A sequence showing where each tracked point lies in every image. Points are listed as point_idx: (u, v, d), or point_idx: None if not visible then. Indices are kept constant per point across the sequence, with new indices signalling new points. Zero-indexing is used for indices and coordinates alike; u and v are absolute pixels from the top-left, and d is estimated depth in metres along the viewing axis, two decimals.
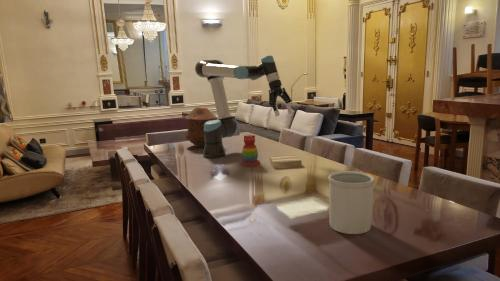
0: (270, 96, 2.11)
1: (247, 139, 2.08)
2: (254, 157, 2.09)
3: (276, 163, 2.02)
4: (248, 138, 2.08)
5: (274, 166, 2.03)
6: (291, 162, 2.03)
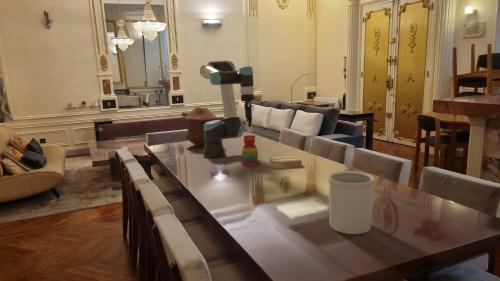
0: (248, 110, 2.00)
1: (247, 139, 2.08)
2: (254, 157, 2.09)
3: (276, 163, 2.02)
4: (248, 138, 2.08)
5: (274, 166, 2.03)
6: (291, 162, 2.03)
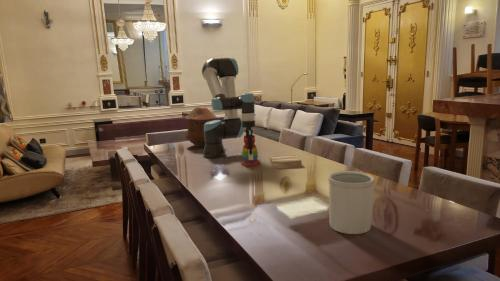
0: (250, 139, 2.04)
1: (247, 139, 2.08)
2: (254, 157, 2.09)
3: (276, 163, 2.02)
4: None
5: (274, 166, 2.03)
6: (291, 162, 2.03)
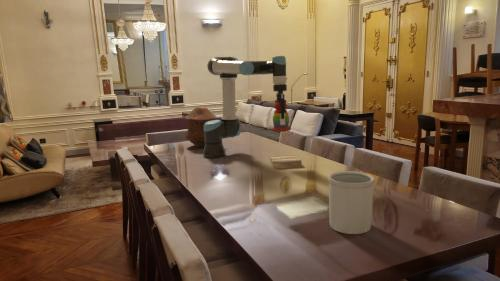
0: (282, 102, 1.97)
1: (278, 103, 2.02)
2: (286, 122, 2.03)
3: (276, 163, 2.02)
4: None
5: (274, 166, 2.03)
6: (291, 162, 2.03)
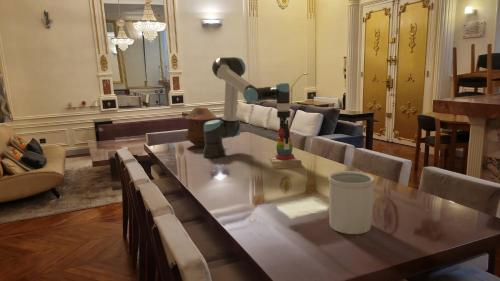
0: (286, 128, 1.99)
1: (282, 132, 2.05)
2: (289, 150, 2.06)
3: (276, 163, 2.02)
4: None
5: (274, 166, 2.03)
6: (291, 162, 2.03)
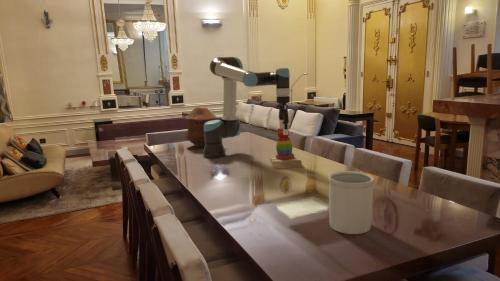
0: (285, 113, 1.98)
1: (281, 132, 2.05)
2: (289, 150, 2.06)
3: (276, 163, 2.02)
4: (282, 131, 2.05)
5: (274, 166, 2.03)
6: (291, 162, 2.03)
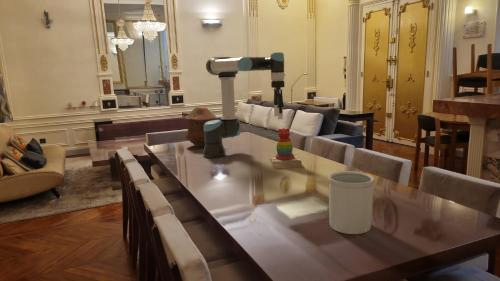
0: (280, 97, 1.98)
1: (282, 132, 2.04)
2: (290, 150, 2.05)
3: (276, 163, 2.02)
4: (283, 131, 2.04)
5: (274, 166, 2.03)
6: (291, 162, 2.03)
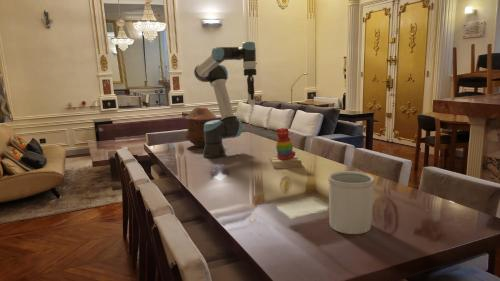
0: (251, 84, 2.08)
1: (280, 133, 2.02)
2: (288, 150, 2.04)
3: (276, 163, 2.02)
4: (281, 132, 2.02)
5: (274, 166, 2.03)
6: (291, 162, 2.03)
